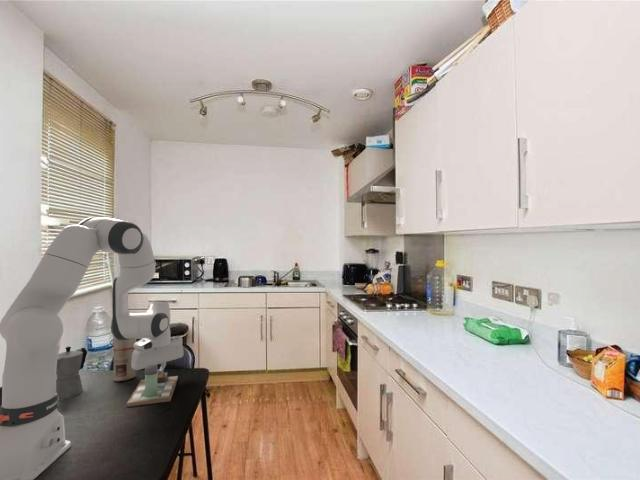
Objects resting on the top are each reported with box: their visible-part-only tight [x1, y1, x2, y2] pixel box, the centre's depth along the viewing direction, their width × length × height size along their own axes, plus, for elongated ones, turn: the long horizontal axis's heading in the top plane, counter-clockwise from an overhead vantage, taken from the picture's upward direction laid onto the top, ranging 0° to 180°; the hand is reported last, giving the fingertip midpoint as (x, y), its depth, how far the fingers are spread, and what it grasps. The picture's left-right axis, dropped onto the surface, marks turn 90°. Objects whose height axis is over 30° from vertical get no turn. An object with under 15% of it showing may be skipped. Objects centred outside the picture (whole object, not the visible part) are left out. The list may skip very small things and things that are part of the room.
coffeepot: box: [56, 346, 88, 400], centre depth 129 cm, size 15×9×18 cm, turn 174°
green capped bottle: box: [144, 365, 158, 397], centre depth 122 cm, size 4×4×10 cm
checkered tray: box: [126, 372, 179, 407], centre depth 129 cm, size 22×14×3 cm, turn 17°
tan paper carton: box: [112, 336, 137, 382], centre depth 143 cm, size 8×8×20 cm
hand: (158, 374), depth 136 cm, fingers closed, pressing on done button
